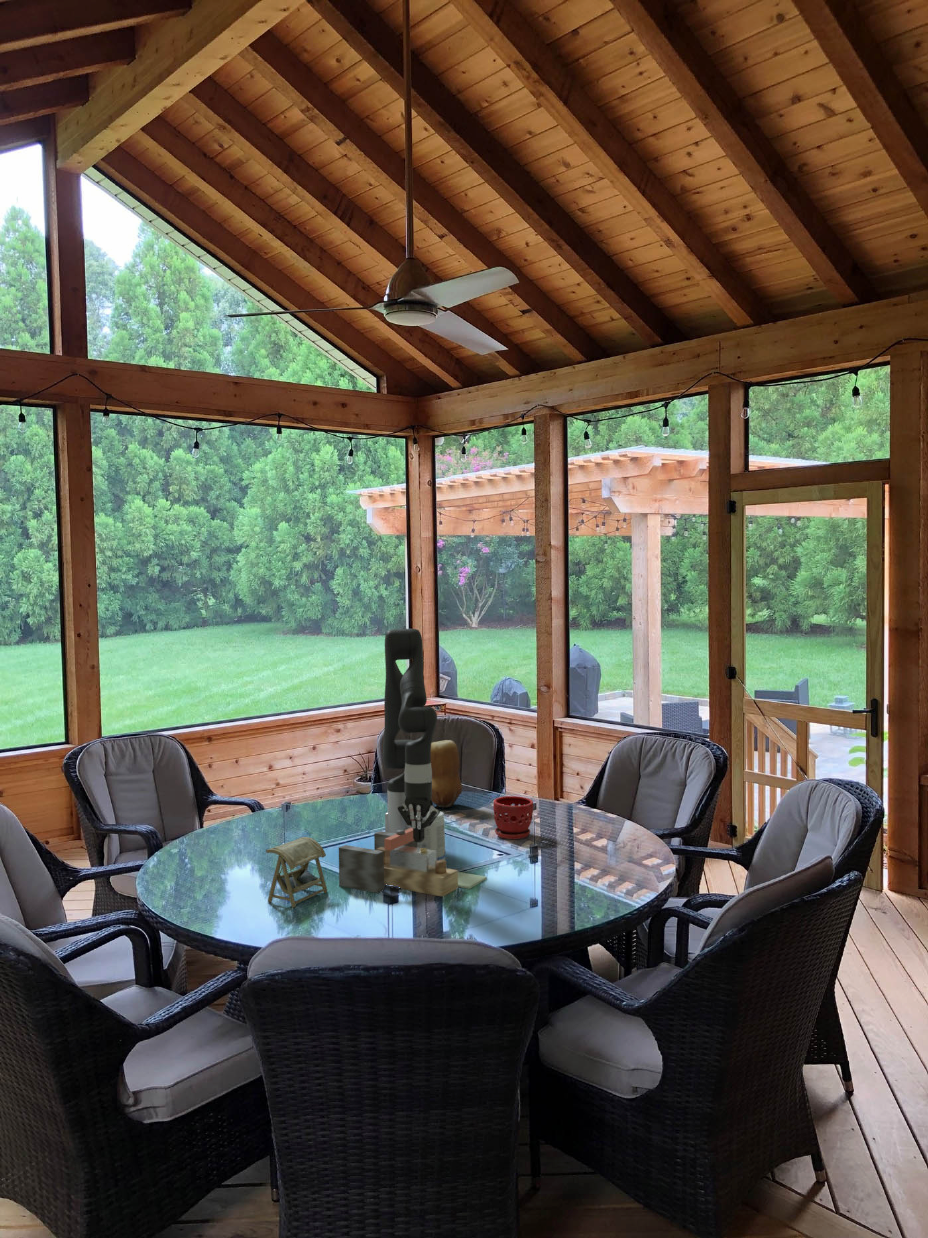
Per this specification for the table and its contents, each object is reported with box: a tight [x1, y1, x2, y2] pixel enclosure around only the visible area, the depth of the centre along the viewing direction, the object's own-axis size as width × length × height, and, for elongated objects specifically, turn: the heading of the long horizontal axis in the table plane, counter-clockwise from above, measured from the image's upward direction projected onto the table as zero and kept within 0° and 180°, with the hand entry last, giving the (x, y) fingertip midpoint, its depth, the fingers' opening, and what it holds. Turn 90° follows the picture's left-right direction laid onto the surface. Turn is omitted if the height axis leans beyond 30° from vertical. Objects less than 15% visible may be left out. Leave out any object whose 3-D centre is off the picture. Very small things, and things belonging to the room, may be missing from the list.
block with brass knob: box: [390, 845, 436, 873], centre depth 265 cm, size 12×5×6 cm, turn 60°
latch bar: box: [384, 828, 414, 851], centre depth 267 cm, size 2×13×4 cm, turn 150°
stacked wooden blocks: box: [338, 830, 459, 897], centre depth 267 cm, size 30×20×11 cm, turn 60°
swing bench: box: [265, 836, 328, 908], centre depth 256 cm, size 15×10×15 cm, turn 152°
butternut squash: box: [431, 739, 463, 808], centre depth 357 cm, size 14×13×25 cm
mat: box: [458, 871, 488, 890], centre depth 269 cm, size 10×10×1 cm
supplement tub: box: [417, 811, 446, 861], centre depth 287 cm, size 10×10×15 cm
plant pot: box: [492, 795, 534, 840], centre depth 316 cm, size 13×13×12 cm
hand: (418, 841), depth 264 cm, fingers closed
